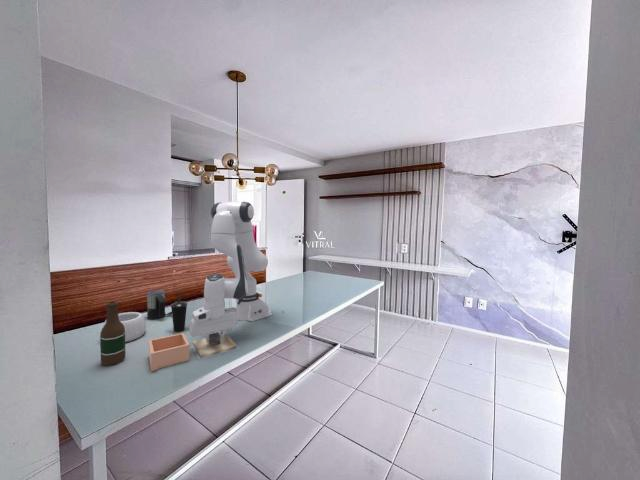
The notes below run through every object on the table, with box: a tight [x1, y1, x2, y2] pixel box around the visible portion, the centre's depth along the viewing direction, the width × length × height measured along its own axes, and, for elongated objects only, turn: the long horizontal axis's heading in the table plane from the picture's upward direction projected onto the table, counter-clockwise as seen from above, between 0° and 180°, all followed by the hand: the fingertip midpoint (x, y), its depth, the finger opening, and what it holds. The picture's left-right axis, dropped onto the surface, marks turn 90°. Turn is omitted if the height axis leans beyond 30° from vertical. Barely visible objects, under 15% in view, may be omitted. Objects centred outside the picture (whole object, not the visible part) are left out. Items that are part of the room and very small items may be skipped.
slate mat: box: [189, 337, 240, 361], centre depth 116 cm, size 17×17×1 cm
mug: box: [102, 311, 147, 343], centre depth 120 cm, size 21×17×10 cm
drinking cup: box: [170, 291, 188, 333], centre depth 131 cm, size 8×8×20 cm
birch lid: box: [192, 331, 238, 358], centre depth 116 cm, size 15×15×5 cm
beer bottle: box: [99, 301, 127, 367], centre depth 101 cm, size 8×8×24 cm
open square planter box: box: [148, 332, 190, 373], centre depth 105 cm, size 13×13×7 cm
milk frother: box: [145, 289, 172, 320], centre depth 150 cm, size 14×16×15 cm
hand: (214, 340), depth 116 cm, fingers closed on birch lid, 4 cm apart
